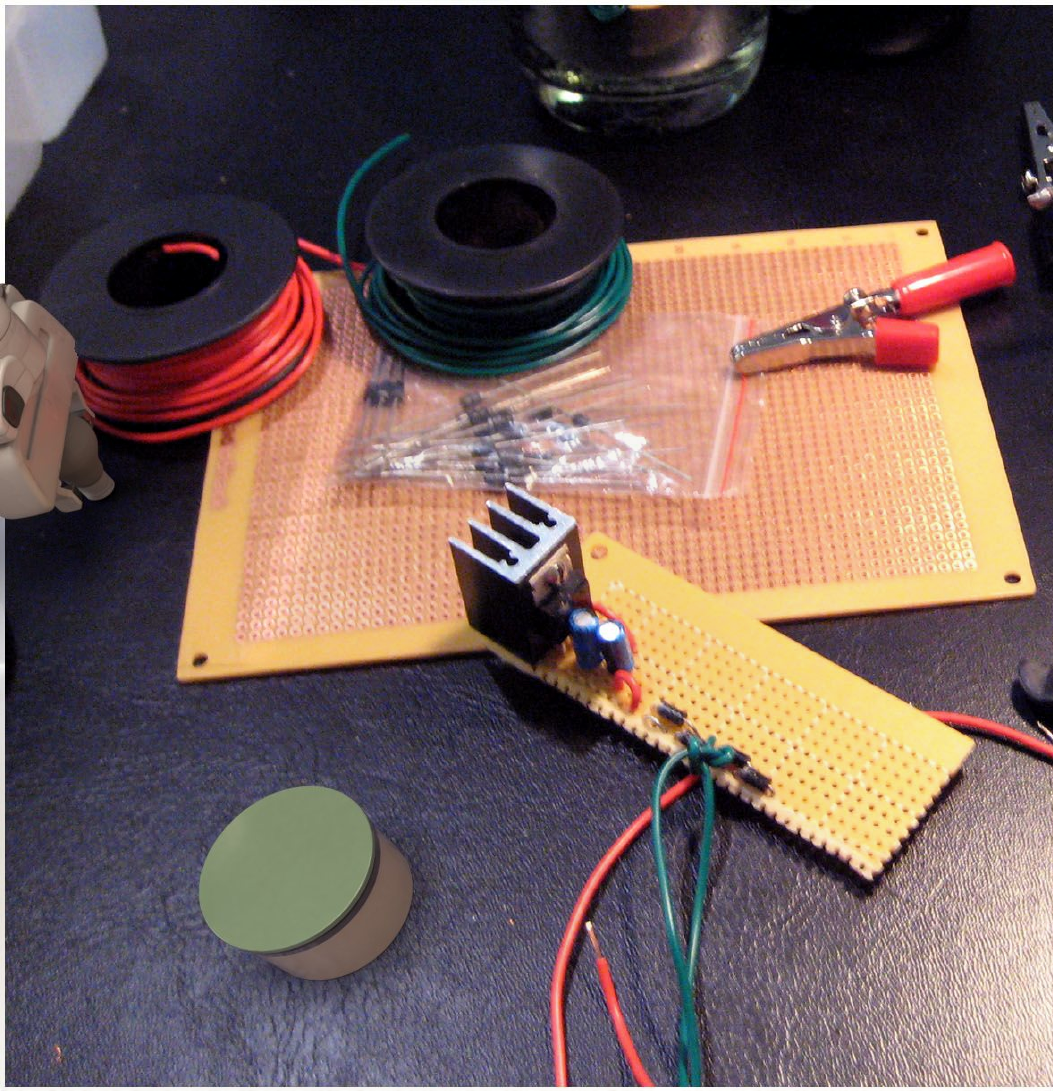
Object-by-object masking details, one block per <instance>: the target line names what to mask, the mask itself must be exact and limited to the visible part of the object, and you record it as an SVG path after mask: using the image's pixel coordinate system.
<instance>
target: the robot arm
mask: <svg viewBox="0 0 1053 1091" xmlns="http://www.w3.org/2000/svg"><path fill="white" fill-rule="evenodd" d="M75 342H76V340H75V338H74V336H73V335H72V334H71V332H70V331H69V330H68V329H67V328H66V327H65V326H64V325H63V324H61V322H60V321H59V320H58V319H57V318H55V317H54V315H53V314H51V313H50V312H49V311H48V310H47V309H46V308H44V307H43V306H42V305H40V304H39V302H36V301H34V300H32V299H26V298H25V297H24V296H23V295H22V294H21V292H19V290H18V289H17V288H16V287H15V286H14V285H12V284H9V283H8V284H7V283H5V282H1V283H0V518H2V519H5V520H19V519H20V520H21V519H26V518H30V517H35V516H38V515H43V514H46V513H49V512H51V511H53V509H55V508H56V509H57V510H59V511H60V512H62V513H70V512H75V511H79V510H81V509H82V508H83V498H84V494H83V493H82V492H81V491H80V490H79V489H78V488H77V487H76V486H75V485H74V484H72V485H69V484H67V485H65V486H63V487H62V480H59V473H60V467H61V461H62V455H63V449H64V442H65V436H66V430H67V423H68V417H69V413H71V414H74V415H76V416H78V417H80V418H82V419H83V420H85V421H86V422H87V423H88V424H89V425H90V426H91V428H92V429H94V425H95V418H96V414H95V413H94V412H93V411H92V410H91V408H90V407H89V406H88V405H87V402H86V400H85V398H84V396H83V393H82V390H81V388H80V385H79V383H78V382H77V381H76V374H77V367H78V361H79V356H77V353H76V352H75V349H74V348H75Z"/></svg>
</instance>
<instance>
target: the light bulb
mask: <svg viewBox="0 0 1053 1091" xmlns="http://www.w3.org/2000/svg"><path fill="white" fill-rule="evenodd" d="M59 480H60V481H63V482H64V483H66V484H67V485H72V484H74V485H75V486H76V487H77V488H78V489H79V491H81V492H82V493H83V496H85V497H86V498H87V499H88V500H89V501H100V500H102V499H103V500H104V498H107V497H108V496H109V495H110V494H111V493H112V492H113V491H114V488H115V481H114V479H113V478H111V477H110V476H109V475H108V473H106V471H105V470H104V466H103V463H102V461H101V460H100V458H99V442H98V438H97V435H96V433H95V431H94V430H93V428H91V426H90V425H89V424H88V423H87V422H86V421H85V420H83V419H82V418H80V417H78V416H76V415H74V414H71V413H69V417H68V423H67V430H66V436H65V442H64V449H63V455H62V461H61V467H60V473H59Z"/></svg>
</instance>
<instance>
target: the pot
mask: <svg viewBox="0 0 1053 1091" xmlns="http://www.w3.org/2000/svg"><path fill="white" fill-rule="evenodd" d="M413 891H414V882H413V874H412V870H411V867H410V865H409V862H408V860H407V858H406V857H405V855H404V854H403V852H402V851H401V850H400V849H399V848H398V847H397V846H396V845H395V844H394V843H393V841H391V840H390V839H389V838H388V837H387V836H385V835H384V834H383V833H382V832H381V830H379V829H378V828H377V827H376V826H375V825H374V823H373V821H372V820H371V819H370V817H369V816H368V815H367V813H366V812H365V810H364V809H363V808H362V807H361V806H360V805H359V804H358V803H357V802H356V801H355V800H354V799H352V798H351V797H350V796H349V795H347V794H345V793H343V792H341V791H340V790H336V789H333V788H332V787H325V786H320V785H303V786H301V785H300V786H295V787H290V788H285V789H282V790H279V791H276V792H274V793H271V794H269V795H266V796H264V797H262V798H261V799H259V800H257V801H255V802H254V803H252V804H251V805H250V806H248V807H246V808H245V809H243V810H242V811H241V812H240V813H239V814H238V815H236V816H235V817H234V818H233V819H232V820H231V821H230V822H229V823H228V824H227V825H226V827H225V828H224V829H223V830H222V831H221V832H220V834H219V835H218V837H217V838H216V840H215V841H214V842H213V844H212V846H211V848H210V850H209V852H207V855H206V858H205V860H204V863H203V865H202V868H201V872H200V877H199V885H198V900H199V906H200V911H201V913H202V916H203V919H204V921H205V923H206V924H207V926H208V928H209V929H210V930H211V931H212V933H213V934H214V935H215V936H216V937H218V938H219V939H220V940H221V941H222V942H224V943H226V944H227V945H229V946H231V947H233V948H235V949H237V950H241V951H242V952H246V953H247V954H251V955H255V956H258V957H259V958H262V959H263V960H265V961H266V962H268V963H270V964H272V965H273V966H275V967H277V968H278V969H280V970H282V971H283V972H284V973H287V974H289V975H291V976H293V977H295V978H298V979H302V980H308V981H328V980H333V979H338V978H341V977H344V976H348V975H350V974H352V973H354V972H356V971H358V970H360V969H362V968H364V967H365V966H367V965H368V964H370V963H371V962H373V961H374V960H375V959H377V958H378V957H379V956H380V955H381V954H382V953H383V952H385V950H386V949H387V948H389V946H390V945H391V944H392V943H393V942H394V940H395V938H396V937H397V936H398V935H399V933H400V931H401V929H402V927H403V926H404V924H405V923H406V920H407V917H408V916H409V912H410V909H411V905H412V902H413V901H412V900H413V894H414V892H413Z"/></svg>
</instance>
